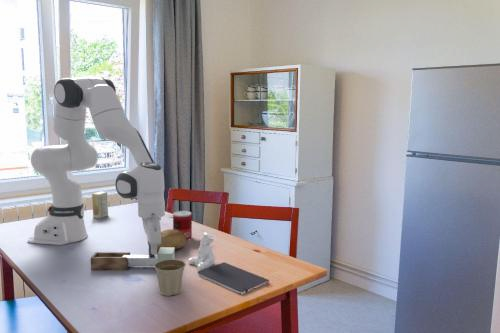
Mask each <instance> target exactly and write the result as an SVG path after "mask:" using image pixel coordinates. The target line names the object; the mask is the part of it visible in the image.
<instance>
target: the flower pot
mask: <svg viewBox="0 0 500 333" xmlns="http://www.w3.org/2000/svg"><path fill="white" fill-rule="evenodd" d="M186 266H187V264H186V262H185V261H184V260H181V259H177V258H175V259H168V260H162V261H159V262H157V263H156V264H155V265H154V266H153V268H154V269H155V272H156V275H157V276H156V277H157V282H158V287H159V293H160V294H161V295H163V296H170V297H171V296H172V295H178V294H180V292H181V291H182V290H181V289H182V282H183V275H184V271H185V268H186Z"/></svg>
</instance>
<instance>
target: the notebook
mask: <svg viewBox="0 0 500 333" xmlns="http://www.w3.org/2000/svg"><path fill="white" fill-rule="evenodd" d="M197 275H199V277H200V276H201V277H200V278H202V279H205V278H206V279H205V280H207V279H208V280H207V281H209V280H210V281H209V282H212V281H213V282H212V283H214V282H215V283H214V284H216V283H217V284H216V285H218V284H219V285H218V286H220V285H222V286H221V287H223V286H224V287H223V288H225V287H226V288H225V289H227V288H229V289H231V290H230V291H232V290H233V291H232V292H234V291H235V292H234V293H236V292H238V293H244V292H247V291H248V290H251V289H253V288H255V287H257V286H260V285H262V284H264V283H266V282H269V283H270V279H267V278H266V277H262V276H260V275H258V274H255V273H252V272H250V271H247V270H245V269H243V268H240V267H237V266H235V265H233V264H229V263H228V262H226V261H225V262H221V263H218V264H215V265H212V266H210V267H209V268H206V269H203V270H201V271H198V270H197ZM264 285H265V284H264ZM262 286H263V285H262ZM260 287H261V286H260ZM229 289H228V290H229ZM253 290H254V289H253ZM251 291H252V290H251ZM238 293H237V294H238ZM244 294H245V293H244Z"/></svg>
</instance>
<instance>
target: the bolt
mask: <svg viewBox="0 0 500 333" xmlns="http://www.w3.org/2000/svg"><path fill="white" fill-rule="evenodd" d="M123 257H127V266H129V267H154V265H155V264H156V263H157V254H155V255H152V254H151V245H150V243H149V245H148V254H130V255H123Z"/></svg>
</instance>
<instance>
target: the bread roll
mask: <svg viewBox="0 0 500 333" xmlns="http://www.w3.org/2000/svg"><path fill="white" fill-rule="evenodd" d="M186 244H187V241H186V236H185V234H184V233H183V232H181V231H179V230H174V229H173V228H171V229H170V228H169V229H164V230H161V244H159V245H158V246H157V253H158V251H159V249H160V247H175V250H178V249H181V248H183V247H185V245H186Z"/></svg>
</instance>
